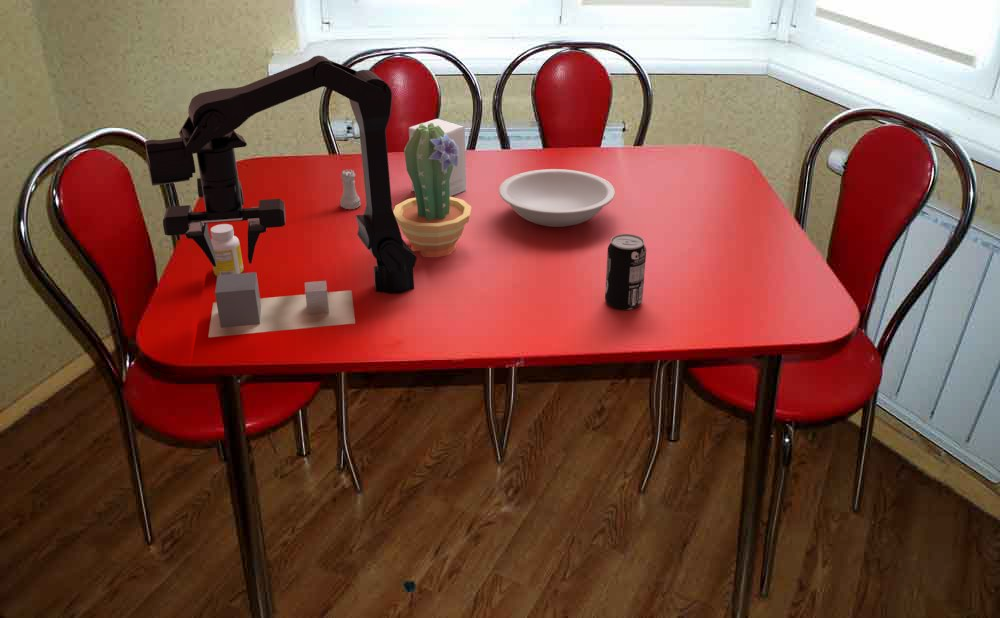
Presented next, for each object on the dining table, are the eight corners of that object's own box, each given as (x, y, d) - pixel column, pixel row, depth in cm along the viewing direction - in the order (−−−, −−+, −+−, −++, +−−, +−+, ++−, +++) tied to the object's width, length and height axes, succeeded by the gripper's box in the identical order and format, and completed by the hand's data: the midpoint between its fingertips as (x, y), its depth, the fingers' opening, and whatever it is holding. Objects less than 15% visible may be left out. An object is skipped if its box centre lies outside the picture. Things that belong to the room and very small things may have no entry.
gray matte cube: (261, 306, 167) (256, 272, 164) (259, 324, 162) (254, 289, 158) (223, 309, 166) (217, 275, 163) (220, 327, 161) (214, 292, 157)
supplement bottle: (232, 267, 183) (225, 219, 178) (250, 275, 180) (243, 227, 175) (208, 277, 179) (200, 229, 174) (226, 285, 176) (218, 237, 171)
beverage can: (603, 293, 173) (607, 232, 167) (640, 293, 173) (644, 232, 167) (606, 311, 167) (609, 248, 161) (643, 311, 167) (648, 249, 161)
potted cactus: (399, 268, 182) (391, 141, 170) (390, 234, 195) (382, 115, 183) (479, 260, 185) (477, 135, 173) (465, 228, 198) (462, 109, 186)
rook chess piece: (350, 200, 211) (347, 166, 207) (365, 205, 209) (362, 170, 205) (336, 207, 208) (332, 172, 204) (351, 212, 205) (348, 176, 201)
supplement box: (467, 190, 216) (466, 126, 208) (438, 202, 210) (436, 136, 203) (440, 180, 221) (437, 117, 214) (410, 191, 216) (407, 126, 208)
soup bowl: (637, 224, 199) (639, 195, 196) (544, 253, 187) (544, 222, 184) (566, 188, 217) (567, 161, 213) (477, 213, 205) (476, 184, 202)
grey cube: (328, 303, 168) (326, 280, 166) (329, 313, 165) (326, 290, 163) (307, 305, 167) (304, 282, 165) (307, 315, 164) (305, 292, 162)
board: (351, 295, 173) (351, 290, 172) (355, 328, 162) (355, 323, 162) (214, 307, 169) (213, 302, 168) (209, 342, 158) (208, 337, 158)
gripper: (280, 154, 160) (290, 239, 167) (163, 161, 157) (179, 248, 164) (279, 178, 150) (290, 267, 158) (155, 186, 147) (172, 277, 155)
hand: (232, 264), depth 159 cm, fingers open, 5 cm apart
